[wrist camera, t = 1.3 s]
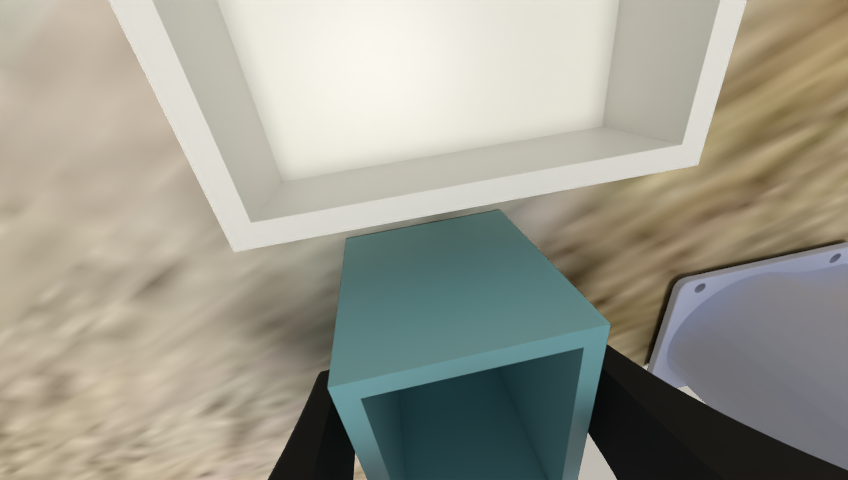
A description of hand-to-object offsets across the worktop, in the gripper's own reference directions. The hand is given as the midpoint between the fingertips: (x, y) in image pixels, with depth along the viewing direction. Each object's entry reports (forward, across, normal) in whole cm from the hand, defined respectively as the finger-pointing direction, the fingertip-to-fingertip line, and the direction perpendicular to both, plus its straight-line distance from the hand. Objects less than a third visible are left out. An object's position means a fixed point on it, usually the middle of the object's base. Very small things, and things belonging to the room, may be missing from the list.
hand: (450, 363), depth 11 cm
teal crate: (+3, 0, 0) cm, 3 cm away
